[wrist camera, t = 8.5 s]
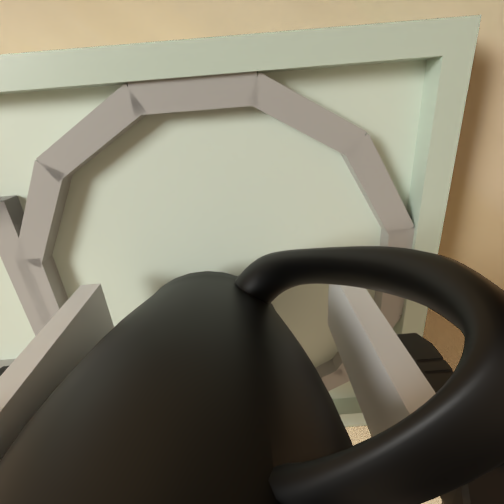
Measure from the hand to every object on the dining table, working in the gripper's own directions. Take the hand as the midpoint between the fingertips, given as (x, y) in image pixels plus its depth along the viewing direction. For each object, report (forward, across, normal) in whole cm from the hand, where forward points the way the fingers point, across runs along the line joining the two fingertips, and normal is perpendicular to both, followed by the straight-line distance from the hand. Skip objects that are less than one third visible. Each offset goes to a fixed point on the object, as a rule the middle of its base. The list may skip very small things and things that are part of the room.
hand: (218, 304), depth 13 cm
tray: (+3, -4, 0) cm, 5 cm away
